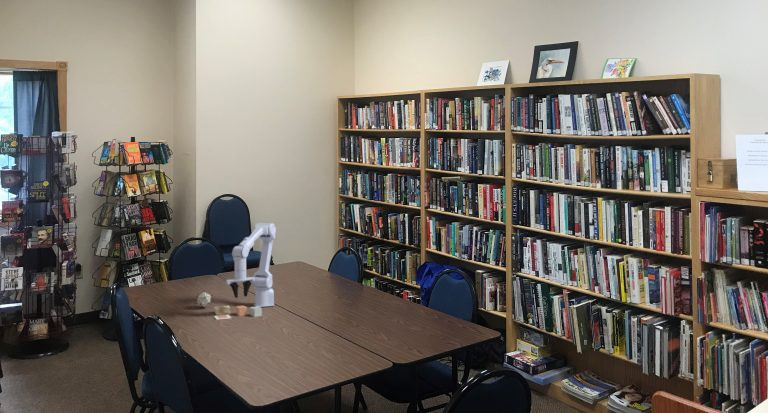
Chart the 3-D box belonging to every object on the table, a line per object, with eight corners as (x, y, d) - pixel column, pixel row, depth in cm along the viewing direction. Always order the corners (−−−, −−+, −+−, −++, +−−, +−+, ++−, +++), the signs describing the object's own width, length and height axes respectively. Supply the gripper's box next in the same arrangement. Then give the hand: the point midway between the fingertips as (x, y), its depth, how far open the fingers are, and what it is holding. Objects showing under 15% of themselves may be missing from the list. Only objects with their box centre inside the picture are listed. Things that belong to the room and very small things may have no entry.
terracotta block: (243, 313, 313) (243, 305, 312) (247, 315, 308) (247, 307, 308) (236, 314, 311) (236, 306, 310) (239, 316, 306) (239, 308, 306)
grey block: (256, 314, 311) (256, 306, 310) (261, 315, 307) (261, 307, 307) (249, 315, 308) (249, 307, 308) (254, 317, 304) (254, 308, 304)
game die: (207, 310, 318) (207, 291, 317) (192, 310, 320) (192, 291, 319) (215, 307, 327) (215, 288, 326) (201, 306, 328) (200, 288, 328)
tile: (228, 315, 307) (228, 314, 307) (231, 318, 301) (231, 317, 301) (214, 316, 304) (214, 315, 304) (216, 319, 298) (216, 318, 298)
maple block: (228, 311, 318) (228, 305, 318) (230, 314, 311) (230, 308, 311) (214, 312, 315) (214, 306, 315) (216, 315, 309) (216, 309, 309)
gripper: (250, 267, 316) (250, 293, 317) (223, 270, 307) (223, 297, 308) (256, 269, 311) (256, 295, 311) (229, 272, 302) (229, 299, 302)
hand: (240, 296), depth 309 cm, fingers open, 4 cm apart
